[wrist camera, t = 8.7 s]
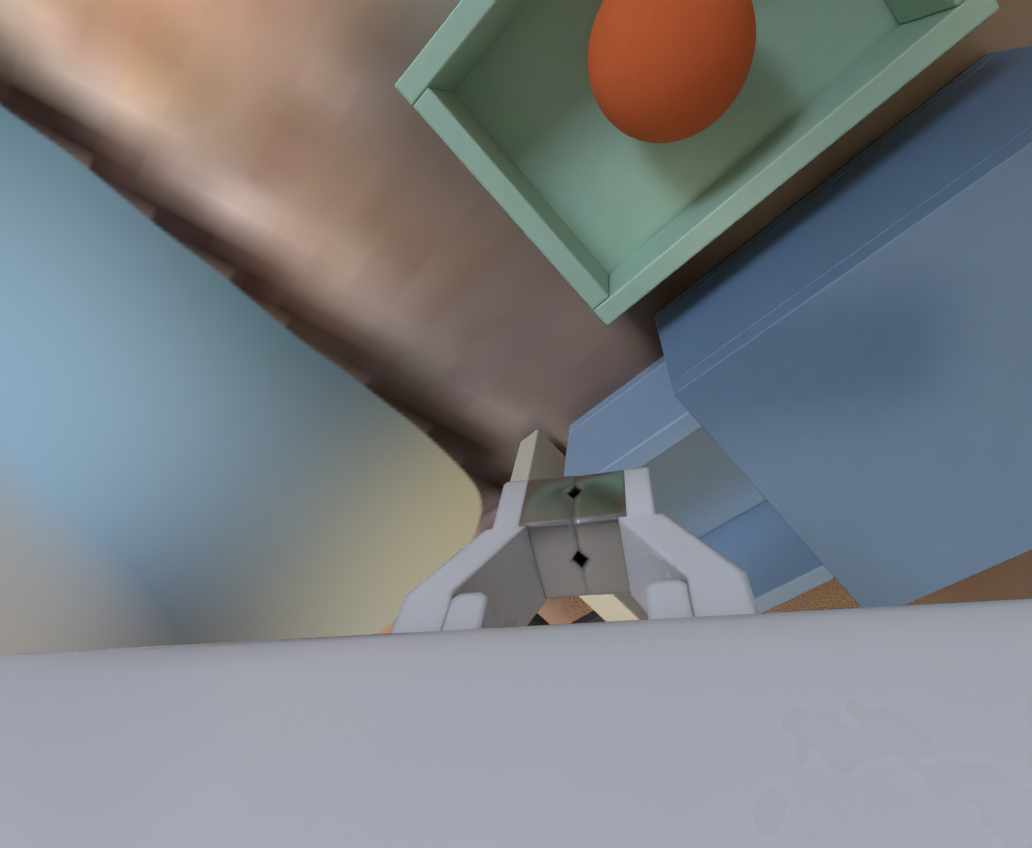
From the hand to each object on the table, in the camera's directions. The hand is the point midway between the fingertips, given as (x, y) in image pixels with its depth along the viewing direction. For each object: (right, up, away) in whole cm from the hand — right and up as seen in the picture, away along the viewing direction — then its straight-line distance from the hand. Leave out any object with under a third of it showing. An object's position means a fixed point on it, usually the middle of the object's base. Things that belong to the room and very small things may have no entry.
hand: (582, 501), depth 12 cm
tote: (+4, +14, +8) cm, 17 cm away
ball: (+3, +13, +6) cm, 15 cm away
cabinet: (+13, +6, +11) cm, 19 cm away
